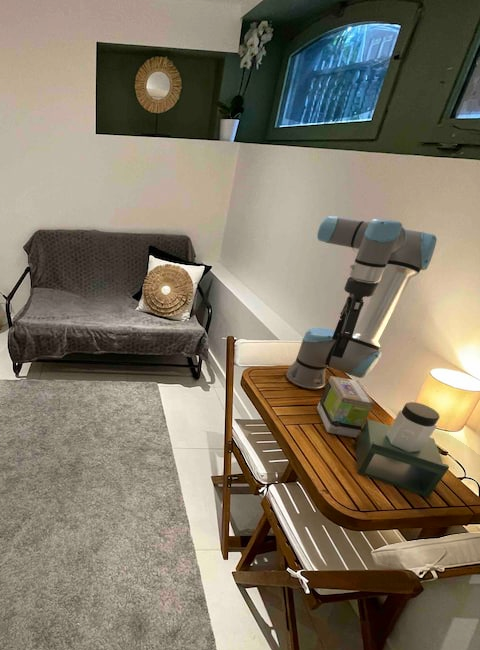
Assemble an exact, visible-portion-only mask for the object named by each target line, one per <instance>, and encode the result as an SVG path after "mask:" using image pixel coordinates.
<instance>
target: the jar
mask: <svg viewBox="0 0 480 650" xmlns="http://www.w3.org/2000/svg"><path fill="white" fill-rule="evenodd" d="M440 417H441V416H440V413H438V411H437V410H435V409H434V408H432V407H430V406H428V405H426V404H423V403H420V402H415V401H409V402H406V403H405V404H404V406H403V408H402V409H399V412H398V413H397V415H396V417H395V418H396V419H395V418H394V420H393V423H391V425H390V426H391V428H390V429H389V431H388V433H387V437H388V439H389V441H390V443H391V444H392V445H394V446H396V447H398V448H400V449H402V450H404V451H406V452H417V451H421V450H422V449H423V447H424V446H425V444H426V442H427V441H428V439H429V438H431V436H432V435H433V433H434V431H435V429H436V428H437V423H438V421H439V420H440Z"/></svg>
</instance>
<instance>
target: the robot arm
mask: <svg viewBox="0 0 480 650" xmlns="http://www.w3.org/2000/svg"><path fill="white" fill-rule="evenodd" d="M316 236H317V237H316V238H317V240H318V241H320V242H323V243H326V244H330V245H336V246H341V247H345V248H349V249H351V250H352V251H353V252H355V253H357V254H356V257H355V259H354V262H353V264H350V266H349V268H350V269H351V270H350V272H349V277H348V278H347V279H346V283H345V285H344V288H343V289H344V291H345V292H346V293H348V296H347V298H346V301H345V303H344V305H343V307H342V310H341V311H340V315H339V319H338V322H337V324H336V327H335V328H334V329H330V328H326V327H325V328H324V327H314V328H310V329H307V331H305V333H304V336H303V337H302V340H301V343H300V347H299V349H298V350H299V351H298V352H297V355H296V359H295V361H294V362H293V363H292V364H291V365H290V366H289V368H288V369H287V370H286V373H285V378H286V380H287V381H288V382H289V383H290V384H292V385H294V386H296V387H298V388H300V389H303V390H308V391H319V390H322V389H324V388H325V386H326V369H327V367H329V368H332V369H333V370H337V371H339V372H342V373H345V374H347V375H349V376H352V377H356V378H359V379H362V378H366V376H367V375H369V374H370V372H371V371H372V370H373V369H374V367H375V366H376V365H377V363H378V362H379V360H380V358H381V357H382V355H383V352H381V350H380V348H381V344H380V343H379V340H380V338H381V336H382V335H383V332H384V330H385V328H386V327H387V324H388V322H390V321H389V320H390V319H391V317H392V315H393V313H394V311H395V309H396V307H397V306H398V303H399V301H400V299H401V298H402V296H403V294H404V292H405V290H406V288H407V286H408V284H409V282H410V280H411V279H412V278H413V277H417V276H418V275H419V274H420V271H426V270H427V269H428V268H429V265H430V264H431V260H432V259H433V255H434V251H435V248H436V245H437V240H438V239H437V236H436V235H434V234H433V233H427V232H425V231H417V230H411V229H405V227H403V223H402V222H400V221H397V220H392V219H384V218H373V219H371V220H370V221H366V220H364V221H363V220H357V219H353V218H345V217H340V216H330V215H328V216H326V217H324V219H323V220H322V221H321V223H320V225H319V227H318V230H317V235H316ZM363 298H369V300H368V302H367V304H366V306H365V308H364V310H363V311H362V308H363V306H364V304H365V302H364V299H363ZM361 311H362V314H361ZM360 314H361V316H360ZM359 317H360V318H359Z"/></svg>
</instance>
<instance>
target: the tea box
mask: <svg viewBox="0 0 480 650" xmlns="http://www.w3.org/2000/svg"><path fill="white" fill-rule="evenodd" d="M374 404H375V402H374V401H373V400H372V398H371V397H370V395H369V393H368V392H367V391H366V390H365V388H364V387H363V385H362V384H361V383H360V381H359V380H356V379H351V378H344V377H338V376H333V375H329V379H328V380H327V383H326V384H325V387H324V390H323V392H322V395H321V397H320V399H319V402H318V405H317V407H316V411H317V412H318V415H319V417H320V419H321V421H322V424H323V427H324V428H325V430H326V432H327V433H329V434H334V435H338V436H339V435H340V436H344V437H350V438H358V436H359V434H360V432H361V430H362V428H363V426H364V424H365V422H366V421H367V419H368V416H369V413H370V412H371V410H372V408H373V406H374Z"/></svg>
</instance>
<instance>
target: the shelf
mask: <svg viewBox="0 0 480 650" xmlns="http://www.w3.org/2000/svg"><path fill="white" fill-rule="evenodd" d="M391 426H392V425H390V424H385V423H382V422H379V421H376V420H372V419H369V418H366V420H365V422H364V424H363V426H362V427H361V429H360V431H359V433H358V435H357V437H356V440H355V443H354V444H355V446H354V447H355V458H356V472H357V475H361V476H364V477H366V478H370V479H373V480H375V481H378V482H381V483H384V484H387V485H390V486H392V487H395V488H399V489H400V490H401V489H402V490H404V491H408V492H410V493H414V494H415V495H416V494H417V495H419V496H422V497H424V498H430V496H431V494H433V492H434V490H435V489H436V488H437V486H438V485H439V483H440V482H441V480H442V479H443V477H444V476H445V475H446V473H447V472H448V470H449V468H450V466H449V464H446V463H444V462H443V459H442V457H441V453H440V451H439V448H438V446H437V443H436V441H435V438H433V437H430V438H429V439H428V441H427V442H426V444H425V446H424V447H423V449H422V450H421V451H417V452H406V451H404V450H402V449H400V448H398V447H396V446H394V445H392V444H391V443H390V441H389V439H388V437H387V433H388V431H389V429H390V428H391Z"/></svg>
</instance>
